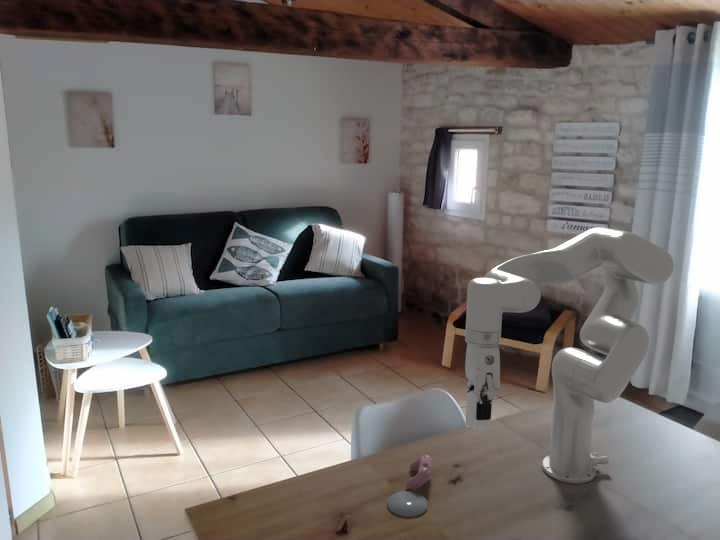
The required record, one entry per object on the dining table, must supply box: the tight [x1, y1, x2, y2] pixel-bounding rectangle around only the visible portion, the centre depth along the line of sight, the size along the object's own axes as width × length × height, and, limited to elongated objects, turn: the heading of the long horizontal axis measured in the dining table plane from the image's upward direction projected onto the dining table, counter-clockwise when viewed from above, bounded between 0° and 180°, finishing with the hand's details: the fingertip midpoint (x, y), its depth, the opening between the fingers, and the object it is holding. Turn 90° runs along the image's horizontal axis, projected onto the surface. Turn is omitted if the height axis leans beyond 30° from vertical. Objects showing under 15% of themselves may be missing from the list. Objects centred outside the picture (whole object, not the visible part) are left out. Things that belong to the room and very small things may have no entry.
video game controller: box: [405, 454, 434, 491], centre depth 146 cm, size 10×5×7 cm, turn 169°
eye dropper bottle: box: [465, 386, 492, 433], centre depth 134 cm, size 4×6×12 cm
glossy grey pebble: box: [387, 490, 429, 518], centre depth 137 cm, size 9×9×1 cm
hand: (478, 412), depth 134 cm, fingers closed on eye dropper bottle, 5 cm apart
